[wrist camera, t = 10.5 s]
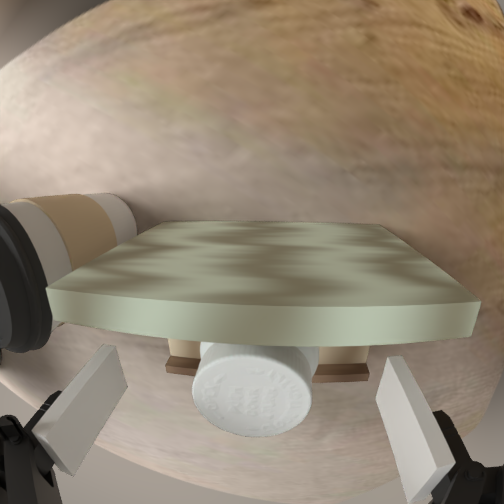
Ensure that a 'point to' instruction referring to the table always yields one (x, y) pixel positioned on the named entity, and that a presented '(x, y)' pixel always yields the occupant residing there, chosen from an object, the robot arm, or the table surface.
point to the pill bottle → (254, 387)
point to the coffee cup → (50, 256)
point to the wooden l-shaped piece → (268, 291)
